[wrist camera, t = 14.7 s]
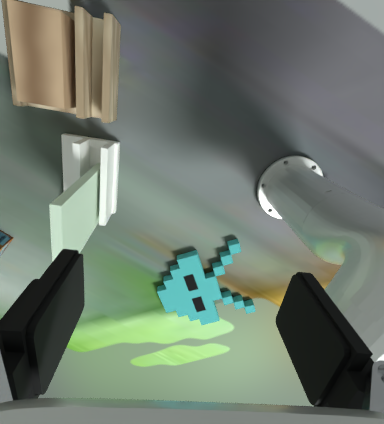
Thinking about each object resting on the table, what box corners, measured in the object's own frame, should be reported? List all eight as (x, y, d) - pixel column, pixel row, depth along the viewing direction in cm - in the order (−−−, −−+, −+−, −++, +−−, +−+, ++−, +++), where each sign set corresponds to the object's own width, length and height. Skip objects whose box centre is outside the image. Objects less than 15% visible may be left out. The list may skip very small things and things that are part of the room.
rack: (120, 25, 36) (112, 14, 31) (116, 119, 41) (108, 123, 36) (16, 2, 34) (-11, -14, 29) (26, 104, 39) (4, 105, 34)
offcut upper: (68, 16, 32) (60, 10, 30) (71, 108, 37) (64, 108, 34) (18, 5, 31) (6, -2, 29) (27, 100, 36) (17, 100, 33)
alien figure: (236, 237, 53) (147, 262, 54) (239, 243, 51) (146, 268, 52) (252, 304, 61) (175, 324, 63) (255, 311, 59) (175, 331, 61)
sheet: (104, 164, 43) (61, 205, 26) (102, 215, 47) (63, 280, 30) (97, 162, 43) (49, 204, 26) (95, 215, 47) (53, 279, 30)
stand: (120, 141, 43) (111, 149, 37) (116, 210, 48) (108, 226, 42) (65, 133, 42) (47, 139, 36) (67, 203, 47) (52, 219, 41)
